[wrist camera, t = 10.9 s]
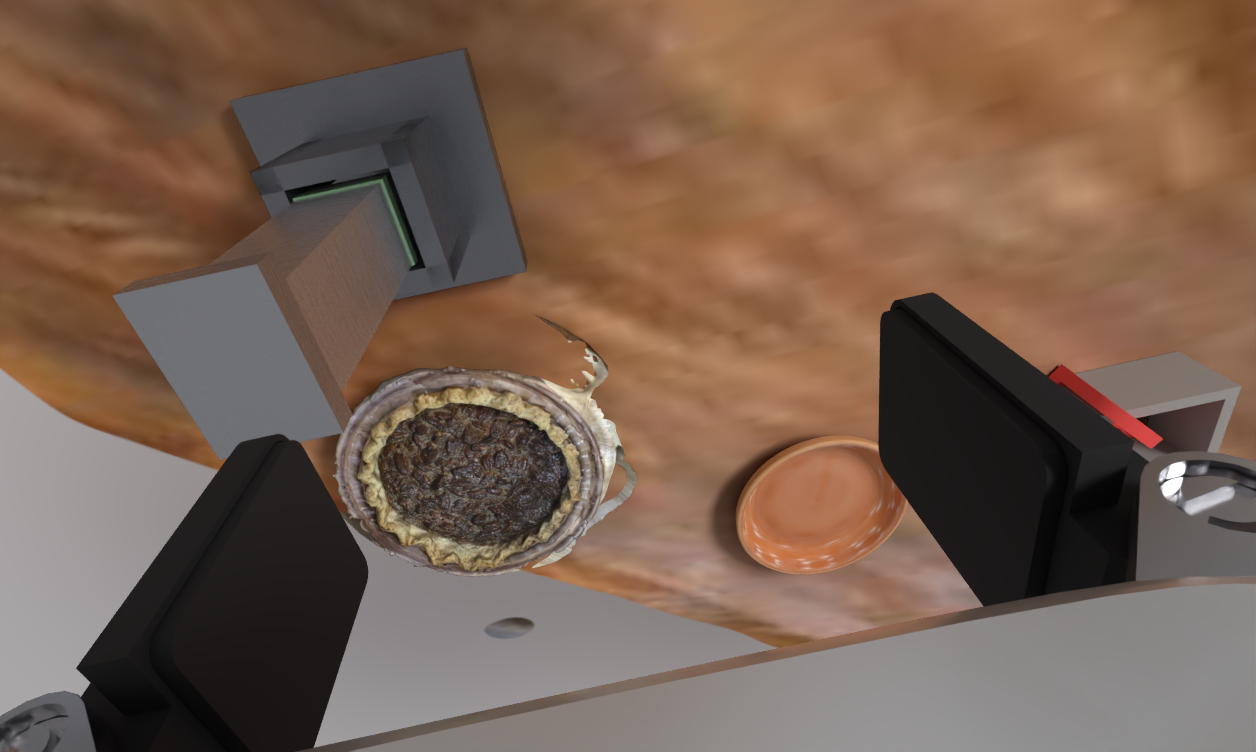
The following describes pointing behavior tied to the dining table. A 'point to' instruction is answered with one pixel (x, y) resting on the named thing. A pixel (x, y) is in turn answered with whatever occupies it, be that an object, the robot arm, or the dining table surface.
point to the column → (279, 314)
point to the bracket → (1106, 407)
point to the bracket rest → (1168, 401)
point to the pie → (478, 467)
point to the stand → (397, 159)
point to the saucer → (818, 506)
